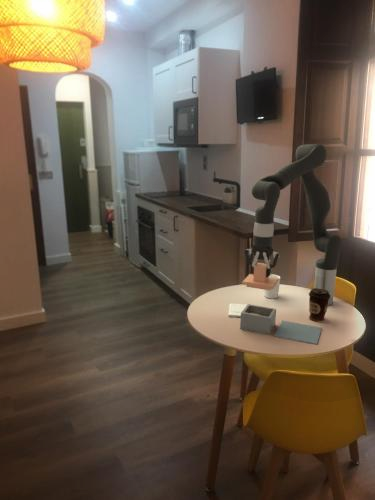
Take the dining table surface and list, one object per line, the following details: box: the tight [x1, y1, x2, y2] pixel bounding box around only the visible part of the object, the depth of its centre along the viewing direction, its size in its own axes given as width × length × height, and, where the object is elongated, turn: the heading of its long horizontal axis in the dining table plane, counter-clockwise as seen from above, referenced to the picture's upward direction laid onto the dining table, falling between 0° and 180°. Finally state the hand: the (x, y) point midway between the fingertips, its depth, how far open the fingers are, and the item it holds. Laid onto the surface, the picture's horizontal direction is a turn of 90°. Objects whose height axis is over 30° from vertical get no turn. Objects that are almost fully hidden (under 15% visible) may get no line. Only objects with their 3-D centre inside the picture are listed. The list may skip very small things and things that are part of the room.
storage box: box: [239, 303, 277, 336], centre depth 167 cm, size 10×12×7 cm
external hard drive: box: [227, 303, 247, 319], centre depth 183 cm, size 2×8×12 cm
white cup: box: [263, 273, 281, 300], centre depth 200 cm, size 8×8×10 cm
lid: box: [242, 262, 279, 291], centre depth 162 cm, size 10×12×8 cm
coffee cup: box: [308, 287, 330, 323], centre depth 174 cm, size 9×8×13 cm
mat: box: [273, 320, 322, 346], centre depth 164 cm, size 15×16×1 cm
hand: (260, 275), depth 162 cm, fingers closed on lid, 4 cm apart
